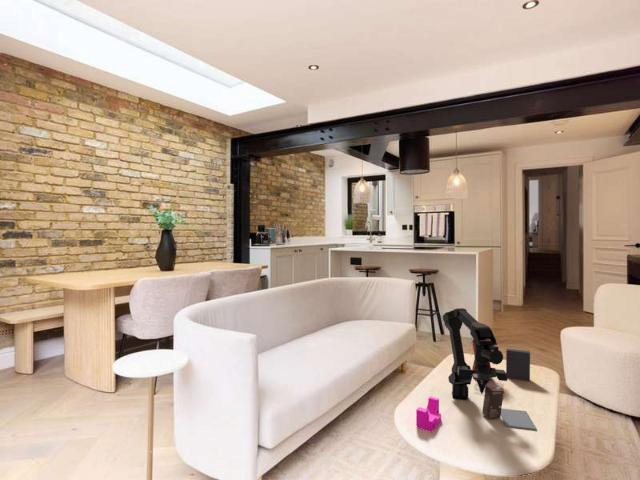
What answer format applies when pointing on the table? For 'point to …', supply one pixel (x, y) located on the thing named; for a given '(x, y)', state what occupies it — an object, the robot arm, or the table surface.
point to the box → (492, 402)
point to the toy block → (429, 415)
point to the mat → (517, 419)
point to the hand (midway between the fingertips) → (481, 393)
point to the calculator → (518, 364)
